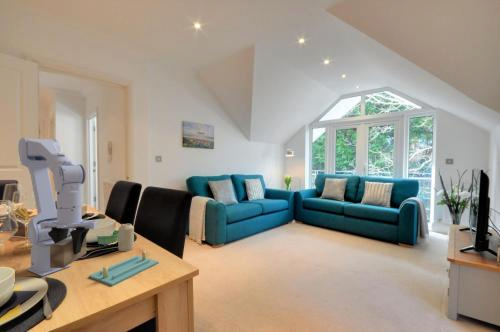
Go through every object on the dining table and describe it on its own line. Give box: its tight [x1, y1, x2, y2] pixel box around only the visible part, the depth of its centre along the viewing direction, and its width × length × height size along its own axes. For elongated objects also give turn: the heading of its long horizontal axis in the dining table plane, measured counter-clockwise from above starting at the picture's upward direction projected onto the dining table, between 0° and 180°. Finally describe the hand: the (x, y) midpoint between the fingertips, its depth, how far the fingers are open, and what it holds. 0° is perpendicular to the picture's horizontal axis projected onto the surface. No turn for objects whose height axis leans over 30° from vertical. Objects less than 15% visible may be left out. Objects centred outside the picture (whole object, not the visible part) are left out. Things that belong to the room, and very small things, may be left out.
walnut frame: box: [50, 236, 87, 269], centre depth 69 cm, size 4×10×6 cm, turn 4°
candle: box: [117, 223, 135, 252], centre depth 96 cm, size 6×6×10 cm
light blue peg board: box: [88, 250, 159, 287], centre depth 78 cm, size 11×17×4 cm, turn 154°
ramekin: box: [96, 229, 118, 245], centre depth 102 cm, size 9×9×4 cm
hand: (69, 253), depth 70 cm, fingers closed on walnut frame, 3 cm apart
